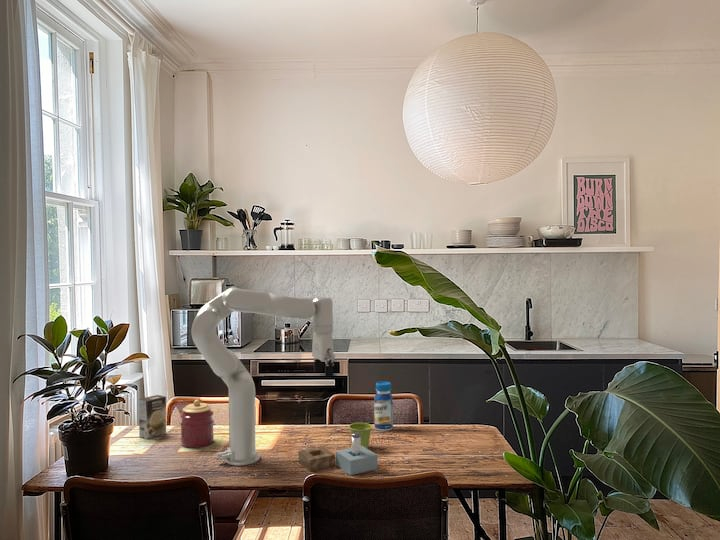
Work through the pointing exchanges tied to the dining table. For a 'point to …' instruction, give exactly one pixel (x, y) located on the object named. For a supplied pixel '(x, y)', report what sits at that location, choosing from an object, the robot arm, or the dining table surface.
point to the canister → (197, 425)
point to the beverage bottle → (383, 407)
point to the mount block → (316, 458)
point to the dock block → (356, 461)
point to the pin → (356, 444)
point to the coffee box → (152, 416)
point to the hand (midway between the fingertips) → (323, 373)
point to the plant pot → (362, 432)
